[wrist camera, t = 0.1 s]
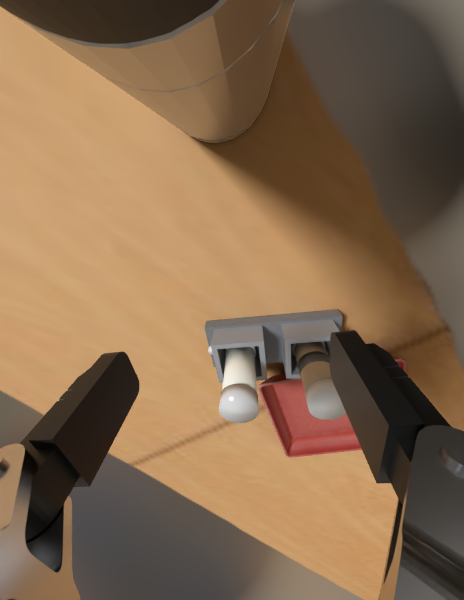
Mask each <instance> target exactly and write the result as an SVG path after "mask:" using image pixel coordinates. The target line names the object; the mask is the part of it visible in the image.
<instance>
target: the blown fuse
mask: <svg viewBox="0 0 464 600" xmlns="http://www.w3.org/2000/svg"><path fill="white" fill-rule="evenodd" d="M291 345H292V349H293V352H294V355H295V357H296V360H297V364H298V370H299V373H300V377H301V379H302V382H303V386H304V390H305V398H306V402H307V405H308V409H309V412H310V413H311V415H313V416H314V417H316V418H318V419H323V420H332V419H337V418H340V417H342V416H344V415H345V414H346V411H345V409H344V407H343V404H342V402H341V400H340V397H339V395H338V393H337V390H336V388H335V386H334V384H333V381H332V378H331V373H330V357H329V355H328V353H327V351H326V349H325V344H324V342H323V341H321V342H307V343H294V344H291Z"/></svg>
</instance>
